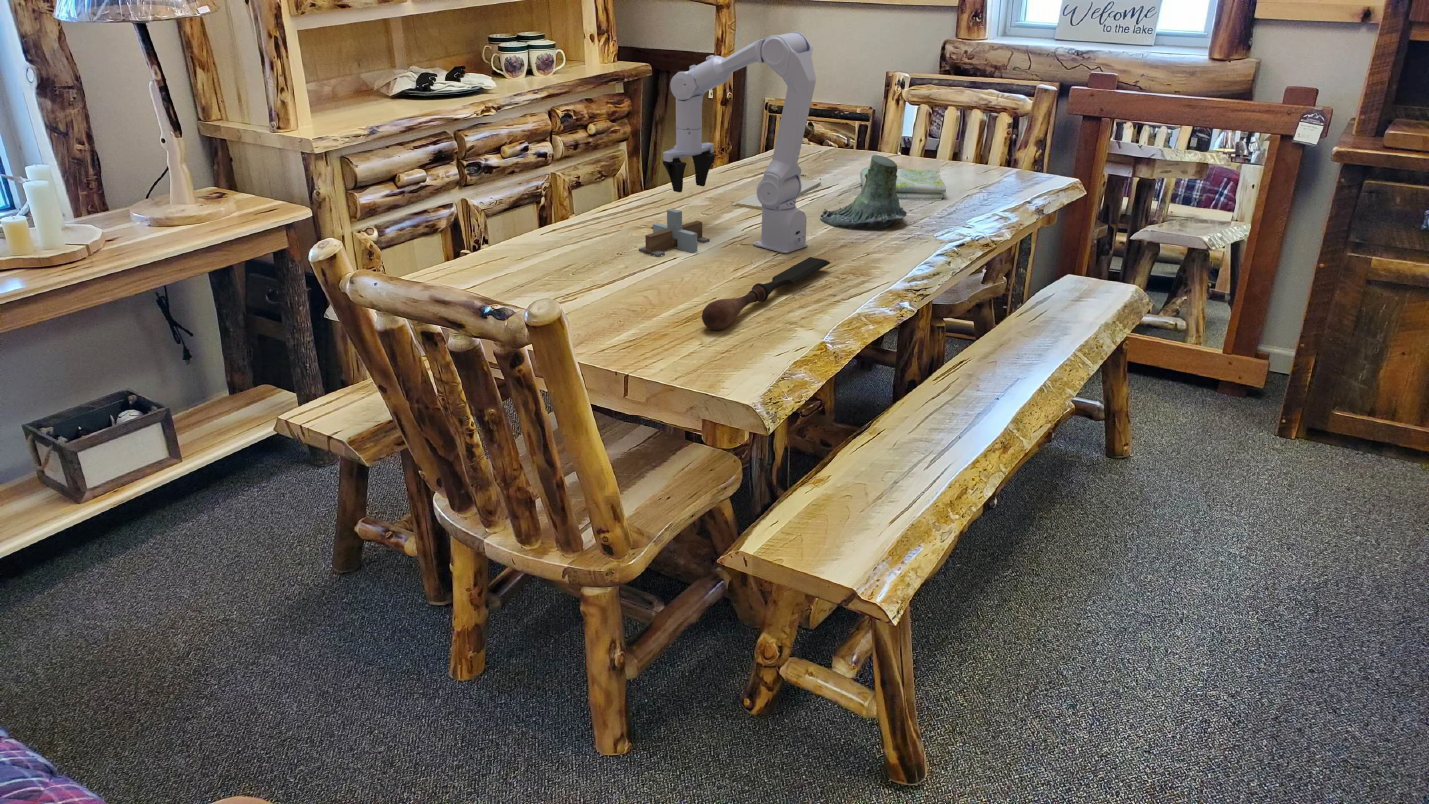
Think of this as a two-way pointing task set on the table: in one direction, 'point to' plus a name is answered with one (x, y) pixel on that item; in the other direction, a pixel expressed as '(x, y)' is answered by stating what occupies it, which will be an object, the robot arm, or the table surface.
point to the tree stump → (871, 200)
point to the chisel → (757, 294)
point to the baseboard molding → (754, 203)
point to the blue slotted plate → (678, 231)
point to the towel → (915, 184)
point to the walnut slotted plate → (669, 239)
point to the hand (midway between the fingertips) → (689, 188)
